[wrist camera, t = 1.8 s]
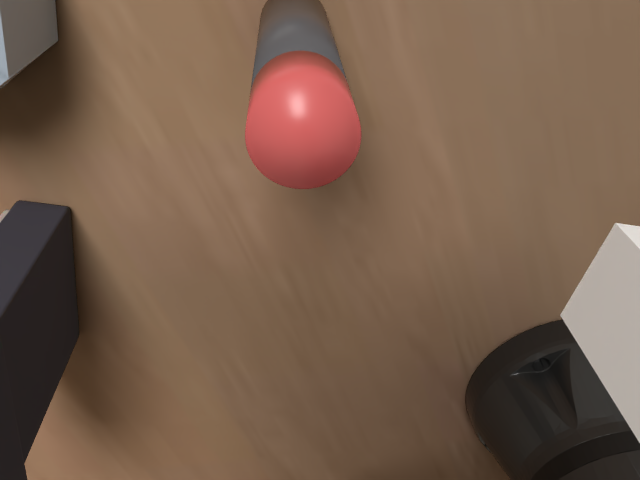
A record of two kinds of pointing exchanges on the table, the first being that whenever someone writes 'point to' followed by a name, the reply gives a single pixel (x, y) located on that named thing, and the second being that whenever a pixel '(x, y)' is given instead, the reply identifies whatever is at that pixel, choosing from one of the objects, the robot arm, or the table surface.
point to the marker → (300, 99)
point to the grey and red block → (33, 322)
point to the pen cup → (24, 34)
